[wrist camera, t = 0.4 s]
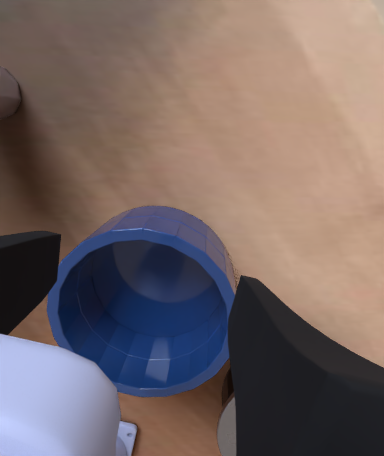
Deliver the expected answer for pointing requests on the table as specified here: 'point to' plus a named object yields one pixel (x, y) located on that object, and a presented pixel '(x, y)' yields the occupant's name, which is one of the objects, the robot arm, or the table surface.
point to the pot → (147, 301)
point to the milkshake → (8, 94)
